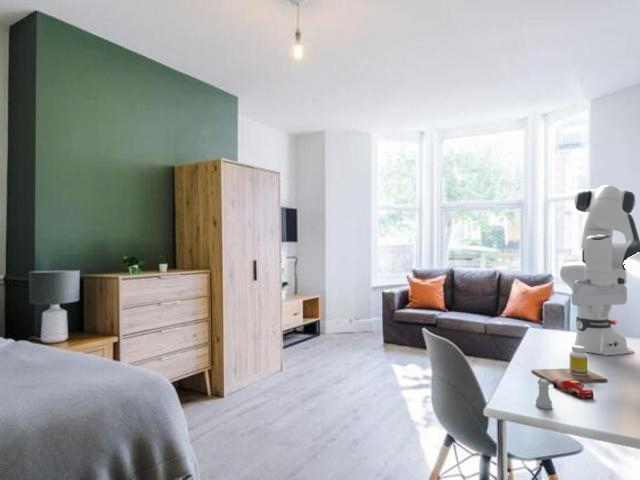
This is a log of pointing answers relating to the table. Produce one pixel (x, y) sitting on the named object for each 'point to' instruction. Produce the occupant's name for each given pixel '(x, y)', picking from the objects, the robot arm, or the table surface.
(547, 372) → the walnut board
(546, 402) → the rook chess piece
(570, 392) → the race car
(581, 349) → the supplement bottle
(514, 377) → the table surface
